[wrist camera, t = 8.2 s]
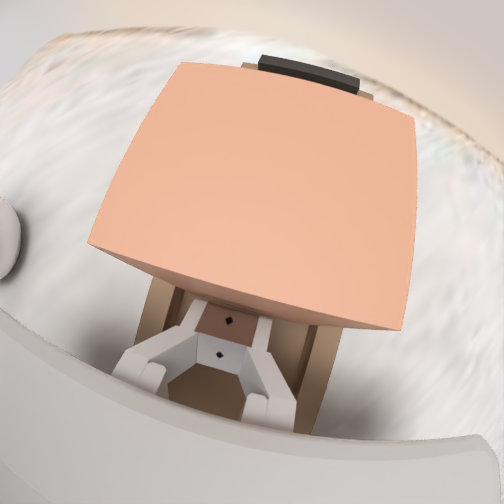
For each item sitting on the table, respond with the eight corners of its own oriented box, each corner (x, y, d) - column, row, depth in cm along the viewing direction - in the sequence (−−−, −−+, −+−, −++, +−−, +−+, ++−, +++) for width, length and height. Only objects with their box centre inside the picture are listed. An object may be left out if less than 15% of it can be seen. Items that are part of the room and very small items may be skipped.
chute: (282, 461, 13) (290, 496, 9) (135, 418, 14) (107, 441, 10) (360, 120, 19) (378, 85, 15) (244, 90, 19) (242, 51, 15)
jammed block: (302, 324, 14) (400, 330, 4) (190, 293, 14) (87, 243, 5) (323, 234, 15) (414, 117, 5) (218, 206, 16) (181, 62, 6)
